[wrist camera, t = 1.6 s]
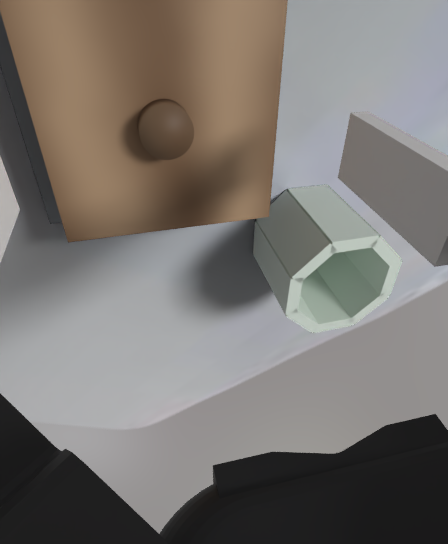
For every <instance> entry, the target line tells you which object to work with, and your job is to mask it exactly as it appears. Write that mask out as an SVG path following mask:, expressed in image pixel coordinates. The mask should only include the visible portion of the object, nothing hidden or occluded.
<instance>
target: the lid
mask: <svg viewBox="0 0 448 544" xmlns="http://www.w3.org/2000/svg"><path fill="white" fill-rule="evenodd" d="M287 1H288V0H0V12H1V16H2V19H3V22H4V26H5V29H6V33H7V36H8V39H9V43H10V46H11V50H12V53H13V56H14V60H15V63H16V67H17V70H18V73H19V77H20V80H21V84H22V87H23V90H24V94H25V97H26V101H27V104H28V107H29V111H30V114H31V118H32V121H33V125H34V128H35V131H36V135H37V138H38V142H39V145H40V148H41V152H42V155H43V159H44V162H45V165H46V169H47V172H48V176H49V179H50V182H51V186H52V189H53V193H54V196H55V199H56V203H57V206H58V210H59V213H60V216H61V220H62V223H63V227H64V230H65V233H66V237H67V240H68V242H75V241H83V240H90V239H98V238H106V237H114V236H122V235H130V234H138V233H146V232H153V231H161V230H169V229H177V228H185V227H193V226H201V225H208V224H216V223H224V222H232V221H240V220H248V219H256V218H264V217H269V211H270V199H271V187H272V176H273V164H274V152H275V141H276V129H277V118H278V106H279V94H280V83H281V71H282V59H283V48H284V36H285V25H286V13H287Z"/></svg>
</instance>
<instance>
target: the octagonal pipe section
mask: <svg viewBox="0 0 448 544" xmlns="http://www.w3.org/2000/svg"><path fill="white" fill-rule="evenodd" d="M256 220H257V221H255V230H254V246H253V255H254V257H255V259H256V261H257V263H258V265H259V266H260V268H261V270H262V272H263V274H264V276H265V278H266V280H267V282H268V283H269V285H270V287H271V289H272V291H273V293H274V295H275V297H276V298H277V300H278V302H279V304H280V306H281V308H282V310H283V312H284V313H285V315H286V317H288V318H289V319H291V320H292V321H294V322H295V323H297V324H298V325H300V326H301V327H303V328H304V329H306V330H308V331H309V332H311V333H312V332H313V333H318V332H323V331H328V330H333V329H338V328H344V327H349V326H352V325H353V324H354V325H355V324H356V323H357V322H359V321H360V320H361V319H362V318H364V317H365V316H366V315H367V314H369V313H370V312H371V311H373V310H374V309H375V308H376V307H378V306H379V305H380V304H381V303H383V302H384V301H385V300H387V299H388V297H389V296H390V294H391V292H392V289H393V286H394V283H395V280H396V278H397V275H398V272H399V269H400V266H401V264H402V261H401V260H402V259H401V258H400V257H399V256H398V254H397V253H396V252H395V251H394V250H393V249H392V248H391V247H390V245H389V244H388V243H387V242H386V241H385V240H384V239H383V238H382V237H381V235H379V234H378V233H377V232H376V231H375V230H374V229H373V228H372V227H371V226H370V225H369V224H368V223H367V222H366V221H365V220H364V219H363V218H362V217H361V216H360V215H359V214H358V213H356V212H355V211H354V210H353V209H352V208H351V207H350V206H349V205H348V204H347V203H346V202H345V201H344V200H343V199H342V198H341V197H340V196H339V195H338V194H337V193H336V192H335V191H334V190H332V189H331V188H330V187H329V186H327V185H318V186H309V187H301V188H292V189H288V191H286V190H285V191H284V192H283V193H282V194H281V195H280V196H279V197H278V198H277V199H276V200H275V201H274V202H273V203H272V204H271V205H270V211H269V217H264V218H257V219H256Z"/></svg>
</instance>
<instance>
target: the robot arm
mask: <svg viewBox="0 0 448 544" xmlns="http://www.w3.org/2000/svg"><path fill="white" fill-rule="evenodd" d="M338 178H339V179H340V180H341V181H342V182H343V183H344V184H345V185H346V186H347V187H349V188H350V189H351V190H352V191H353V192H354V193H355V194H356V195H357V196H358V197H359V198H361V199H362V200H363V201H364V202H365V203H366V204H367V205H368V206H369V207H370V208H371V209H372V210H374V211H375V212H376V213H377V214H378V215H379V216H380V217H381V218H382V219H383V220H384V221H386V222H387V223H388V224H389V225H390V226H391V227H392V228H393V229H394V230H395V231H396V232H397V233H399V234H400V235H401V236H402V237H403V238H404V239H405V240H406V241H407V242H408V243H409V244H411V245H412V246H413V247H414V248H415V249H416V250H417V251H418V252H419V253H420V254H421V255H423V256H424V257H425V258H426V259H427V260H428V261H429V262H430V263H431V264H432V265H433V266H434V267H435V266H442V265H448V156H447V155H446V154H444V153H442V152H440V151H438V150H437V149H435V148H433V147H431V146H429V145H428V144H426V143H424V142H422V141H420V140H419V139H417V138H415V137H413V136H411V135H410V134H408V133H406V132H404V131H402V130H401V129H399V128H397V127H395V126H393V125H392V124H390V123H388V122H386V121H384V120H383V119H381V118H379V117H377V116H375V115H374V114H372V113H370V112H354V113H351V114H350V119H349V124H348V129H347V134H346V139H345V145H344V150H343V155H342V160H341V165H340V170H339V175H338ZM19 211H20V209H19V206H18V203H17V200H16V198H15V195H14V192H13V189H12V187H11V184H10V181H9V178H8V175H7V173H6V170H5V167H4V164H3V162H2V159H1V156H0V263H1V260H2V257H3V255H4V252H5V249H6V246H7V244H8V241H9V238H10V236H11V233H12V230H13V227H14V225H15V222H16V219H17V217H18V214H19ZM213 482H214V484H213V485H211V486H209V487H207V488H206V489H204V490H202V491H201V492H199V493H198V494H197V495H195V496H194V497H193V498H191V499H190V500H189V501H188V502H186V503H185V505H183V506H182V507H181V508H180V509H179V510H178V511H177V512H176V513H175V514H174V516H173V517H172V518H171V519H170V520H169V522H168V523H167V524H166V525H165V526H164V528H163V529H162V531H161V532H160V534H158V533H157V532H156V531H155V530H154V529H153V528H152V527H151V526H150V525H149V524H148V523H147V522H146V521H145V520H143V518H142V517H140V516H139V515H138V514H137V513H136V512H135V511H134V510H133V509H132V508H131V507H130V506H129V505H128V504H127V503H126V502H125V501H124V500H123V499H122V498H120V497H119V496H118V495H117V494H116V493H115V492H114V491H113V490H112V489H111V488H110V487H109V486H108V485H107V484H106V483H105V482H104V481H103V480H102V479H100V478H99V477H98V476H97V475H96V474H95V473H94V472H93V471H92V470H91V469H90V468H89V467H88V466H87V465H86V464H84V462H82V461H81V460H80V459H79V458H78V457H77V456H76V455H74V454H73V453H72V452H70V451H68V450H67V449H65V450H63V451H60V450H59V449H57V448H56V447H55V446H54V445H53V444H51V442H50V441H48V439H47V438H46V437H45V436H43V435H42V434H41V433H40V432H39V431H38V430H37V429H36V428H35V427H34V426H33V425H32V424H31V423H30V422H29V421H28V420H27V419H26V418H25V417H24V416H23V415H22V414H21V413H20V412H19V411H18V410H17V409H16V408H15V407H14V406H13V405H12V404H11V403H10V402H9V401H7V400H6V399H5V398H4V397H3V396H2V395H1V394H0V544H448V430H447V429H446V428H445V426H444V425H443V424H442V422H441V421H440V419H439V418H438V417H437V415H436V414H433V415H429V416H425V417H420V418H416V419H412V420H408V421H403V422H399V423H394V424H390V425H386V426H384V427H382V428H381V429H379V430H377V431H376V432H374V433H372V434H371V435H369V436H367V437H366V438H364V439H362V440H361V441H359V442H357V443H356V444H354V445H352V446H351V447H349V448H347V449H346V450H344V451H342V452H340V453H336V454H321V453H292V452H270V453H265V454H261V455H256V456H252V457H248V458H243V459H239V460H235V461H230V462H226V463H222V464H217V465H213Z"/></svg>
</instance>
